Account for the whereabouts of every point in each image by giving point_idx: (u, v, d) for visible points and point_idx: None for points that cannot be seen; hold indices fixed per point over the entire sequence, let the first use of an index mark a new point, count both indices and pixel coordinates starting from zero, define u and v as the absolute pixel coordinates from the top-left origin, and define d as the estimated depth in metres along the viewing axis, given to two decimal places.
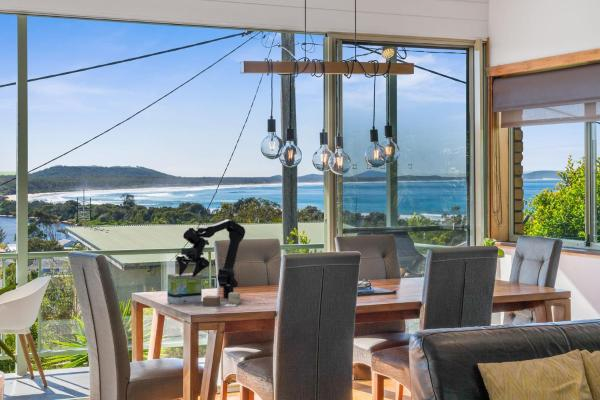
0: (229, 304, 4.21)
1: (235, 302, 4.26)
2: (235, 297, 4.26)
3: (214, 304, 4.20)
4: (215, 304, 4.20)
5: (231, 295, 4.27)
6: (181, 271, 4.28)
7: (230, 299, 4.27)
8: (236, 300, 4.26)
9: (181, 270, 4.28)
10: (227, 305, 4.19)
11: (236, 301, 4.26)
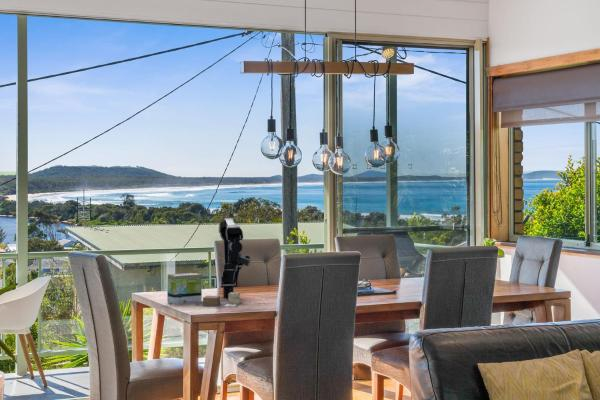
0: (229, 304, 4.21)
1: (235, 302, 4.26)
2: (235, 297, 4.26)
3: (214, 304, 4.20)
4: (215, 304, 4.20)
5: (231, 295, 4.27)
6: None
7: (230, 299, 4.27)
8: (236, 300, 4.26)
9: None
10: (227, 305, 4.19)
11: (236, 301, 4.26)
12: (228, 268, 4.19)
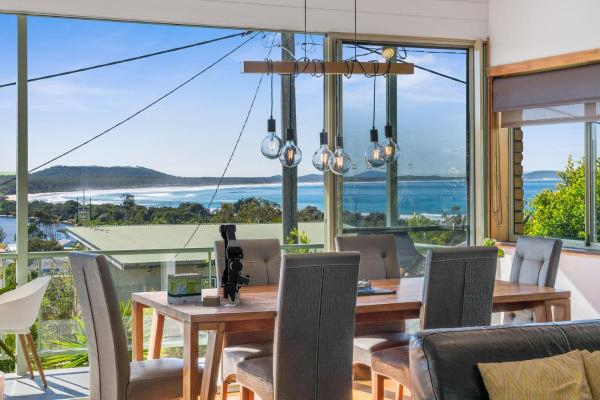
0: (229, 304, 4.21)
1: (235, 302, 4.26)
2: (235, 297, 4.26)
3: (214, 304, 4.20)
4: (215, 304, 4.20)
5: None
6: None
7: (230, 299, 4.27)
8: (236, 300, 4.26)
9: None
10: (227, 305, 4.19)
11: (236, 301, 4.26)
12: (228, 287, 4.20)
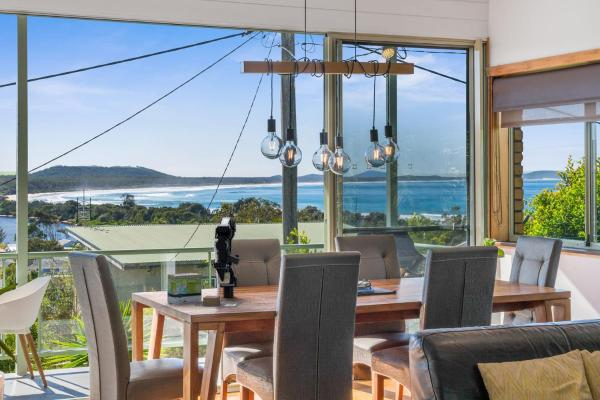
0: (229, 304, 4.21)
1: (225, 282, 4.23)
2: (225, 277, 4.23)
3: (214, 304, 4.20)
4: (215, 304, 4.20)
5: None
6: None
7: (219, 279, 4.24)
8: (226, 280, 4.23)
9: None
10: (227, 305, 4.19)
11: (226, 281, 4.23)
12: (218, 267, 4.17)
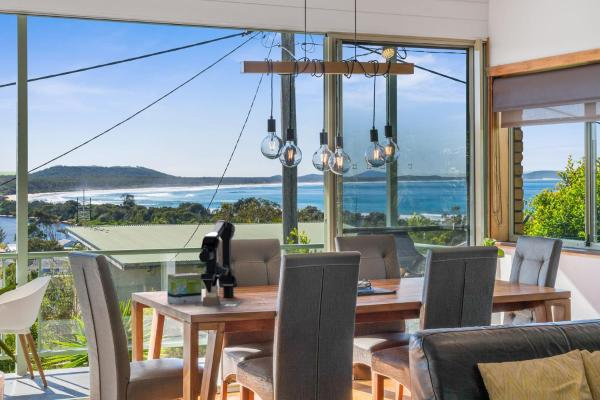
0: (229, 304, 4.21)
1: (212, 296, 4.21)
2: (212, 291, 4.21)
3: (214, 304, 4.20)
4: (215, 304, 4.20)
5: None
6: None
7: (207, 293, 4.21)
8: (213, 294, 4.21)
9: None
10: (227, 305, 4.19)
11: (213, 295, 4.21)
12: (205, 278, 4.14)
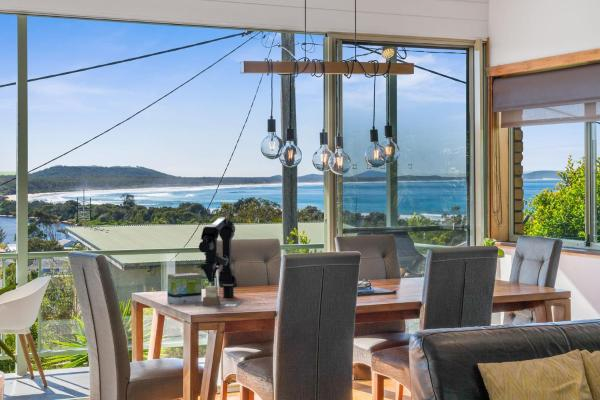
0: (229, 304, 4.21)
1: (212, 296, 4.21)
2: (212, 291, 4.21)
3: (214, 304, 4.20)
4: (215, 304, 4.20)
5: (208, 289, 4.21)
6: None
7: (207, 293, 4.21)
8: (213, 294, 4.21)
9: None
10: (227, 305, 4.19)
11: (213, 295, 4.21)
12: (205, 268, 4.14)
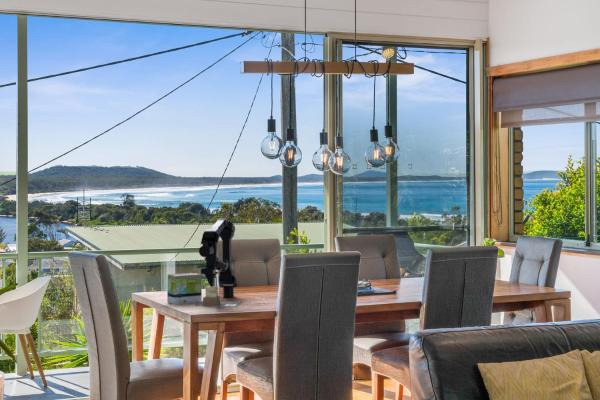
0: (229, 304, 4.21)
1: (212, 296, 4.21)
2: (212, 291, 4.21)
3: (214, 304, 4.20)
4: (215, 304, 4.20)
5: (208, 289, 4.21)
6: None
7: (207, 293, 4.21)
8: (213, 294, 4.21)
9: None
10: (227, 305, 4.19)
11: (213, 295, 4.21)
12: (205, 272, 4.14)
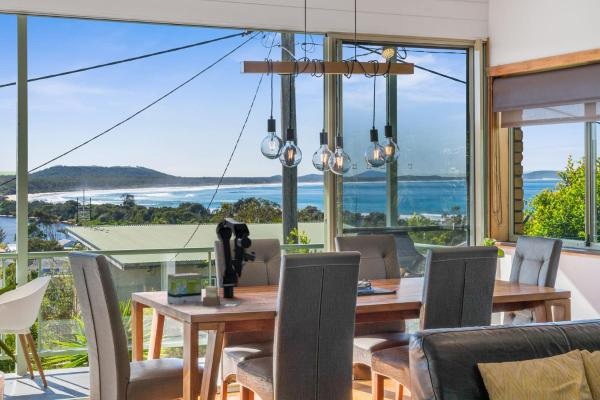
0: (229, 304, 4.21)
1: (212, 296, 4.21)
2: (212, 291, 4.21)
3: (214, 304, 4.20)
4: (215, 304, 4.20)
5: (208, 289, 4.21)
6: None
7: (207, 293, 4.21)
8: (213, 294, 4.21)
9: None
10: (227, 305, 4.19)
11: (213, 295, 4.21)
12: (234, 264, 4.23)
